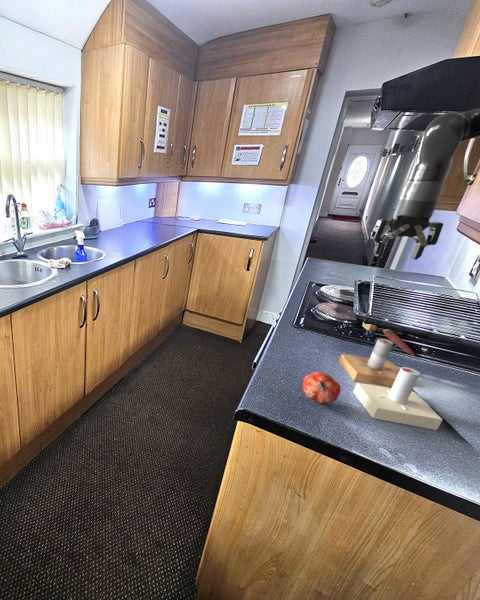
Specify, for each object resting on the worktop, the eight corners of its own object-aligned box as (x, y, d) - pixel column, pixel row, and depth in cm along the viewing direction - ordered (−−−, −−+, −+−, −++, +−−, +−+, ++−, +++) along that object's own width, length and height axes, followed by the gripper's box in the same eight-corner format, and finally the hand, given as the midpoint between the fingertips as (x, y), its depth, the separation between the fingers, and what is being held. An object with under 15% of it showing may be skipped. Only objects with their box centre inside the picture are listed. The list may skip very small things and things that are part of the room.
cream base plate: (409, 401, 81) (415, 391, 80) (437, 430, 72) (443, 419, 71) (352, 391, 84) (357, 381, 83) (372, 418, 75) (377, 407, 74)
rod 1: (368, 362, 92) (379, 336, 89) (383, 367, 89) (395, 340, 86) (365, 366, 90) (376, 339, 87) (380, 371, 88) (392, 344, 84)
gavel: (439, 356, 95) (398, 351, 98) (432, 368, 97) (391, 363, 100) (399, 320, 113) (365, 316, 115) (394, 331, 115) (360, 327, 117)
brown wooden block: (386, 370, 94) (390, 360, 92) (407, 391, 85) (412, 381, 84) (338, 362, 97) (341, 353, 96) (353, 382, 88) (357, 372, 87)
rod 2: (401, 396, 78) (415, 367, 75) (409, 405, 75) (424, 375, 72) (384, 393, 79) (398, 364, 76) (392, 402, 76) (406, 372, 73)
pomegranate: (299, 393, 87) (292, 386, 80) (316, 370, 86) (310, 362, 79) (330, 412, 81) (325, 407, 74) (348, 388, 80) (345, 381, 74)
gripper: (394, 198, 86) (372, 258, 92) (462, 201, 82) (434, 263, 88) (379, 196, 92) (359, 252, 99) (442, 198, 89) (417, 256, 95)
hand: (395, 257), depth 93 cm, fingers open, 8 cm apart
